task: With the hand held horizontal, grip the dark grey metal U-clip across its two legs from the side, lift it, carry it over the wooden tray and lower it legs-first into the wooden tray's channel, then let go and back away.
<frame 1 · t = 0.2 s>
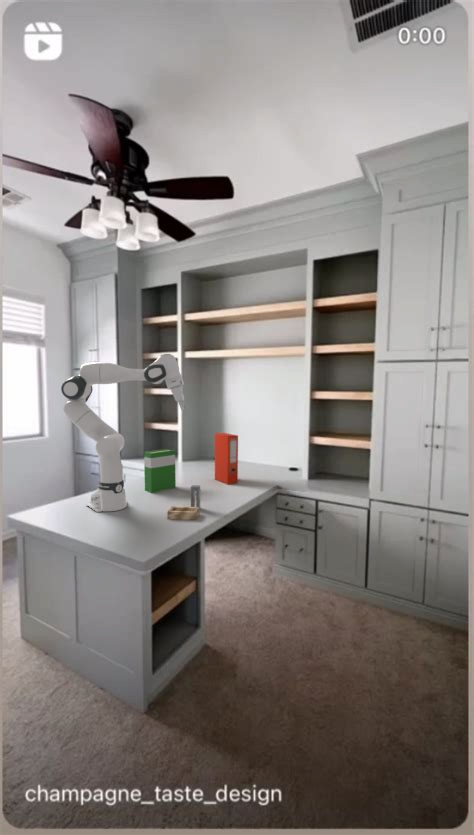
hand: (183, 409, 194), 52 cm above the table, tool tilted 15°, fingers open, 8 cm apart
file binder: (226, 481, 252), on the table
wooden tray: (183, 516, 181), on the table
clip: (195, 508, 193), on the table
green box: (160, 489, 231), on the table
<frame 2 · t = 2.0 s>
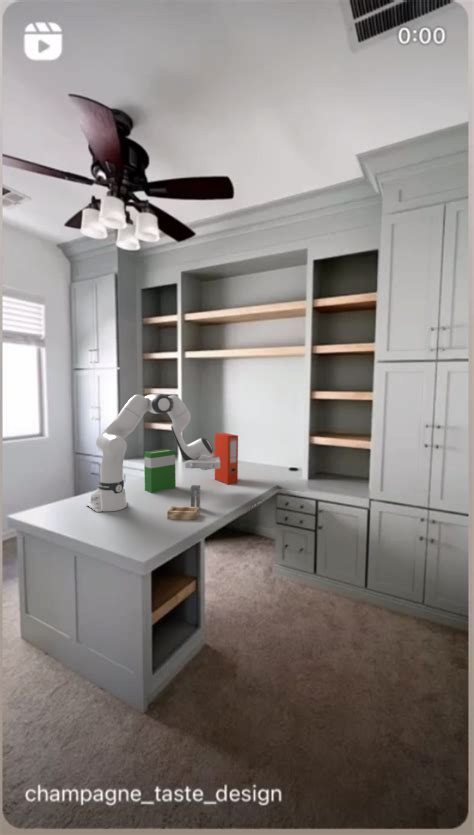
hand: (200, 467, 203), 19 cm above the table, tool horizontal, fingers open, 8 cm apart
nothing on the table moved.
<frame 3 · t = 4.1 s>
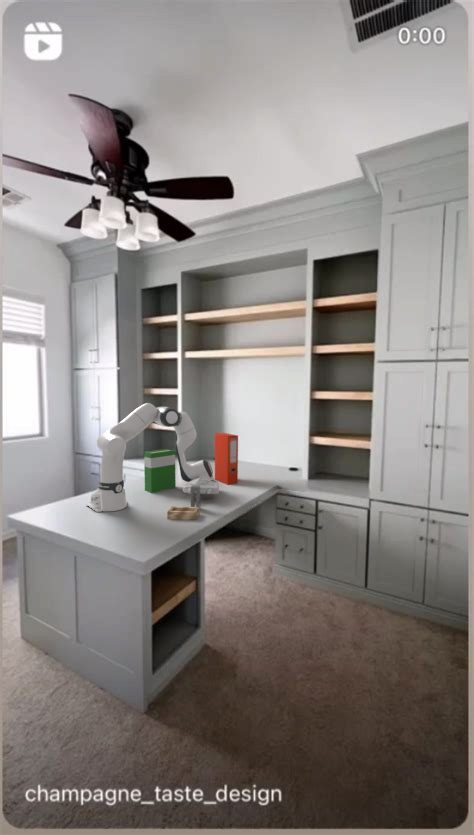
hand: (198, 492, 201), 6 cm above the table, tool horizontal, fingers open, 8 cm apart
nothing on the table moved.
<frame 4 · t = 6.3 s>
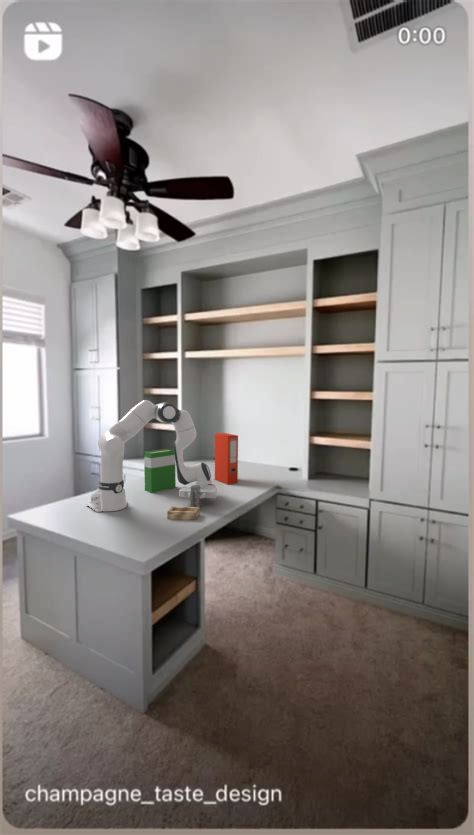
hand: (195, 497, 191), 7 cm above the table, tool horizontal, fingers closed on clip, 4 cm apart
clip: (195, 508, 193), on the table, touching gripper
everything else where it was.
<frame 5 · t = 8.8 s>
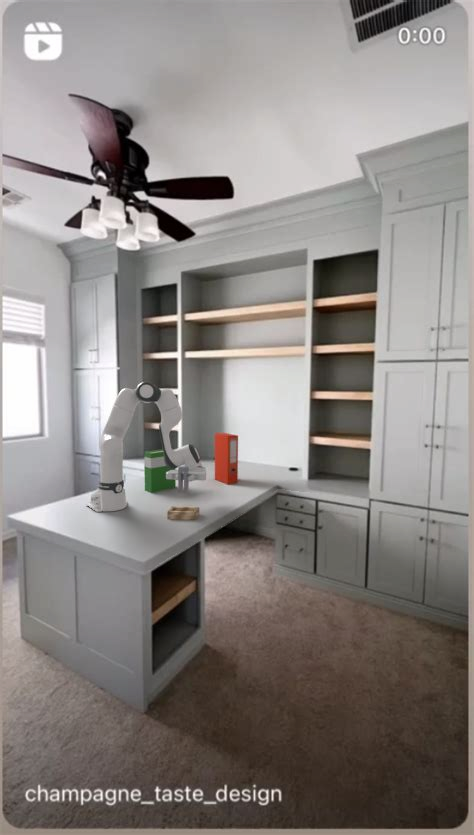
hand: (182, 478, 179), 19 cm above the table, tool horizontal, fingers closed on clip, 4 cm apart
clip: (183, 491, 181), point 12 cm above the table, touching gripper
everything else where it was.
when the fingers open (8 cm above the table, at t = 11.2 s): clip stays where it is, resting on wooden tray.
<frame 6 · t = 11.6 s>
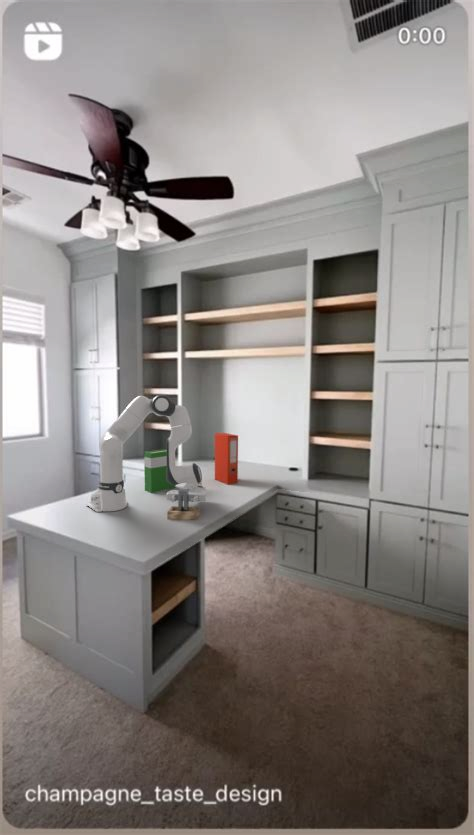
hand: (183, 500, 180), 8 cm above the table, tool horizontal, fingers open, 8 cm apart
clip: (183, 514, 181), point 1 cm above the table, touching wooden tray
everything else where it was.
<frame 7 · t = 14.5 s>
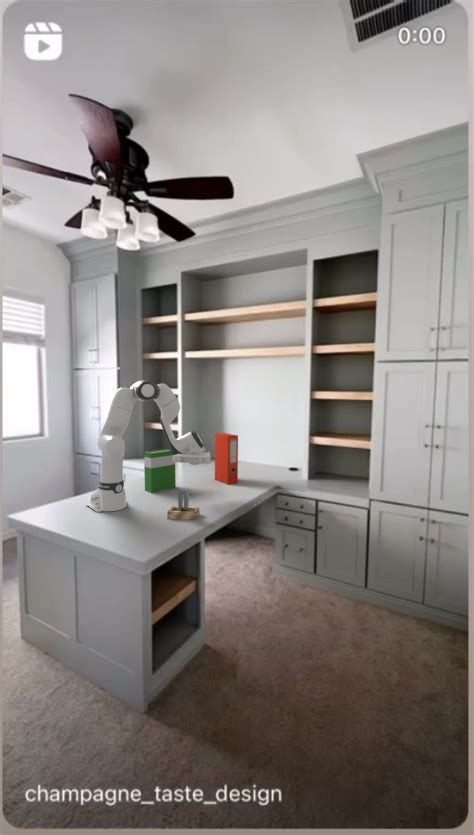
hand: (188, 461, 191), 25 cm above the table, tool horizontal, fingers open, 8 cm apart
nothing on the table moved.
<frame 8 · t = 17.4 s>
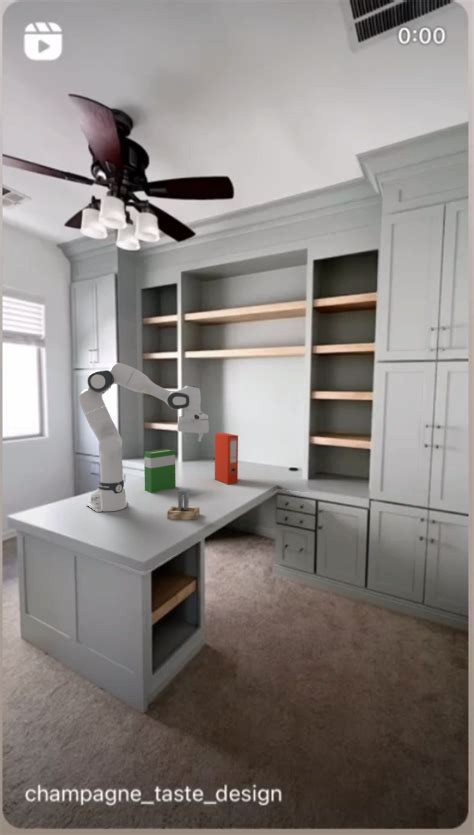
hand: (192, 440, 202), 34 cm above the table, tool pointing down, fingers open, 8 cm apart
nothing on the table moved.
at the end: clip 0.1 cm from the wooden tray (horizontally); clip point 1.0 cm above the table; clip tilted 0° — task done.
